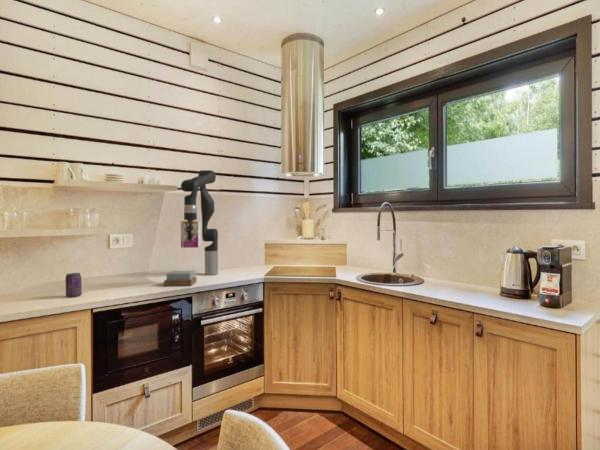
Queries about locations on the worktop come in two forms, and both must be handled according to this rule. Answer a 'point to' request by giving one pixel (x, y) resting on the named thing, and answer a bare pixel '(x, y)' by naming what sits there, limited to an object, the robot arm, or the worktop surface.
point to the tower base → (179, 282)
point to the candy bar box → (195, 235)
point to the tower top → (180, 275)
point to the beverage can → (73, 285)
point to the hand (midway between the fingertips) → (190, 239)
